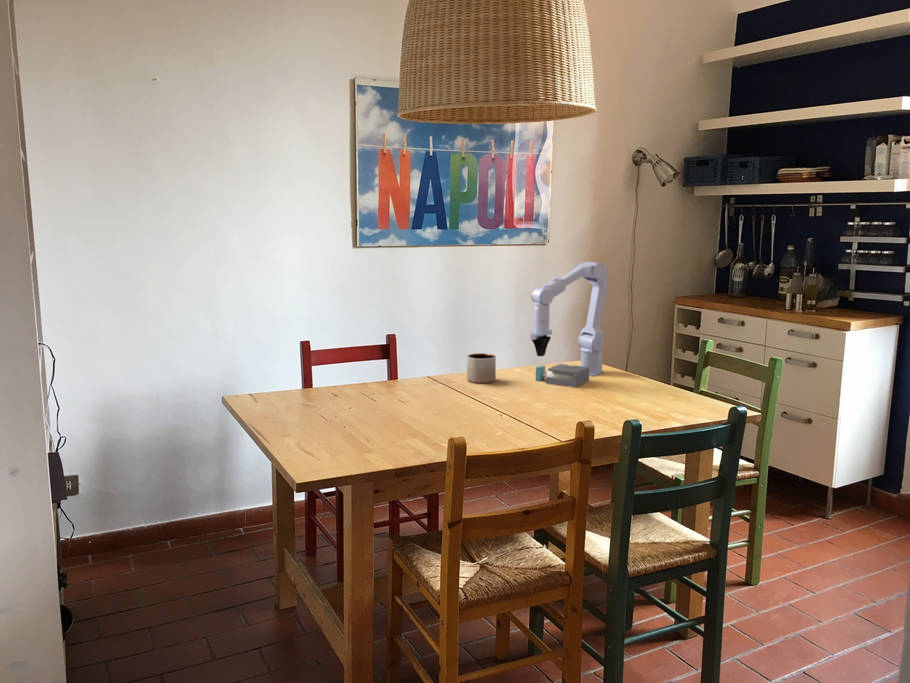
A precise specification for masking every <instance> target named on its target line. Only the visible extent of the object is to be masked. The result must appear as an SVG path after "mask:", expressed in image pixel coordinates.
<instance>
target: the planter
mask: <svg viewBox="0 0 910 683" xmlns="http://www.w3.org/2000/svg"><path fill="white" fill-rule="evenodd" d="M466 359H467V360H466V361H467V363H466V380H467V381H468V382H469V383H472V382H475V383H474V384H489V383H488V382H491V383H494V382H495V381H496V378H497V377H496V365H497V364H496V363H497V362H496V355H495V354H491V353H483V352H482V353H471V354H468V355H467V358H466Z"/></svg>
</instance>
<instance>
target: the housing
mask: <svg viewBox="0 0 910 683" xmlns="http://www.w3.org/2000/svg"><path fill="white" fill-rule="evenodd" d="M568 365H569V364H566V363H559V364H556V365H554V366H552V367H549V368H547V372H548V371H554V372H562V373H570V374H574V377H573V380H571V379H563V378H555V377H546V378H545V384H546V383H548V384H547V385H553V384H556V385H555V386H561V385H562V386H561V387H568V386H571V387H570V388H578V387H580V386H582V385H584V384H586V383H587V381H588V382H590V375H589V367H584V366H581V365H576V367H575V368H573V367H568ZM585 382H586V383H585ZM583 383H584V384H583ZM581 384H582V385H581ZM579 385H580V386H579ZM577 386H578V387H577Z"/></svg>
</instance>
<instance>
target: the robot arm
mask: <svg viewBox="0 0 910 683" xmlns="http://www.w3.org/2000/svg"><path fill="white" fill-rule="evenodd" d="M607 275H608V268H607V267H606V266H605V264H604V263H603V262H595V261H589V260H583V261H582V262H581V263H579V264H577V265H576V267H575V268H573V269H572V270H571V271H570V272H567V273H566V274H565V275H564V276H563V277H553V278H551V281H549V282H548V283H546V284H543V285H542V287H540V288H539V287H537V288H535V289H534V290H533V291H532V294H531V295H530V299H531V301H532V302H533V308H534V309H533V310H534V311H533V330H531V331H530V338H529V339H530V340H531V341H532V342H533V345H534V348H535V354H536V356H537V357H543V356H544V357H545V355H546V351H547V347H548V344H549V343H550V341H551V336H552V333H553V330H552V329H553V328H552V329H550V308H551V307H550V304H552V303H553V300H554V298H556V297H558V296H559V295H560V294H562V293H563V292H565V291H566V289H567V286H569V285H570V284H572V283H575V281H578V280H579V279H581V278H583V279H585V280H586V281H588V282H589V284H590V285H591V286H592V289H591V295H590V300H589V306H588V312H587V316H586V317H587V318H586V323H585V324H586V325H585V326H584V327H583V328H582V329H581V331H580V333H579V334H580V335H579V336H578V338H577V345H578V347H579V348H580V366H584V367H589V376H594V377H596V376H598V375H600V374H603V373H604V372H605V370H603V354H602V350H603V349H604V347H605V340H604V332H603V330H602V329H601V323H602V318H603V312H604V306H605V301H606V295H607V291H608V290H607V289H608V279H607V278H608V276H607ZM550 335H551V336H550Z"/></svg>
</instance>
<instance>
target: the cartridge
mask: <svg viewBox="0 0 910 683" xmlns="http://www.w3.org/2000/svg"><path fill="white" fill-rule="evenodd" d="M546 377H555V378H563V379H571V380H573V377H574V374H570V373H562V372H554V371H548V370H547V372H546V366H545V365H541V364H540V365H538V366H535V381H540V382H541V381H543V380H546Z"/></svg>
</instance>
